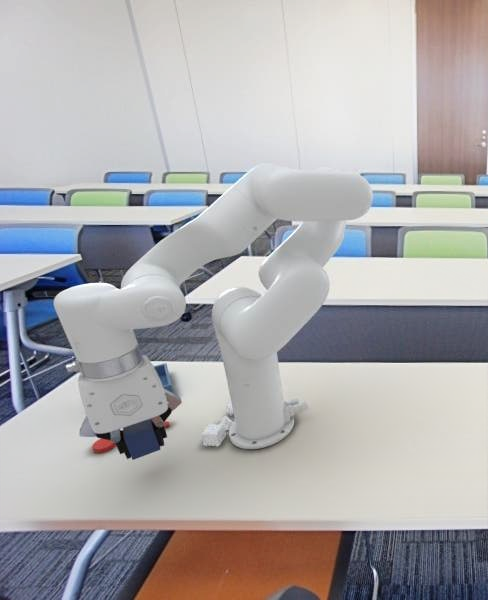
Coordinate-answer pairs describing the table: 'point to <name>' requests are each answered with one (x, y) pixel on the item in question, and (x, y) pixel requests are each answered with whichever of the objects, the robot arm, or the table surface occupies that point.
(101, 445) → the red spoon
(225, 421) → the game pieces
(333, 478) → the table surface
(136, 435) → the blue block
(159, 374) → the blue tray
